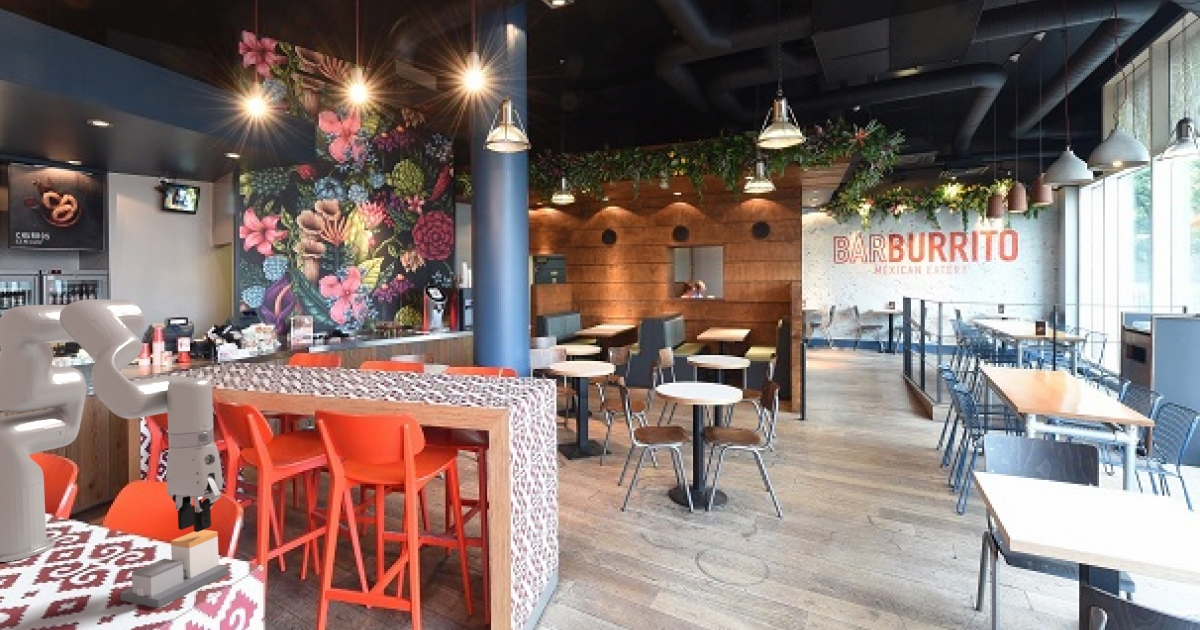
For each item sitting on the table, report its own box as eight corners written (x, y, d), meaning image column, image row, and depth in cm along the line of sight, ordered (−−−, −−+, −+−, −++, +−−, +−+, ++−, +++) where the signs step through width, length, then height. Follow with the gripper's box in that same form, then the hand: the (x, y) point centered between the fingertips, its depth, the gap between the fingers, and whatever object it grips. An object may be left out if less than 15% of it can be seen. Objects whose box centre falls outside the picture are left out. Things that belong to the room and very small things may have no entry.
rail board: (120, 600, 109) (119, 571, 109) (193, 567, 123) (192, 541, 123) (158, 607, 106) (157, 578, 106) (228, 573, 120) (227, 547, 120)
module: (172, 575, 116) (171, 540, 116) (201, 562, 122) (199, 529, 122) (190, 578, 115) (189, 543, 115) (218, 564, 120) (217, 531, 120)
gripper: (239, 437, 119) (242, 525, 119) (180, 433, 124) (183, 517, 124) (204, 445, 112) (207, 540, 112) (143, 441, 117) (146, 531, 117)
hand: (194, 527), depth 118 cm, fingers open, 3 cm apart
